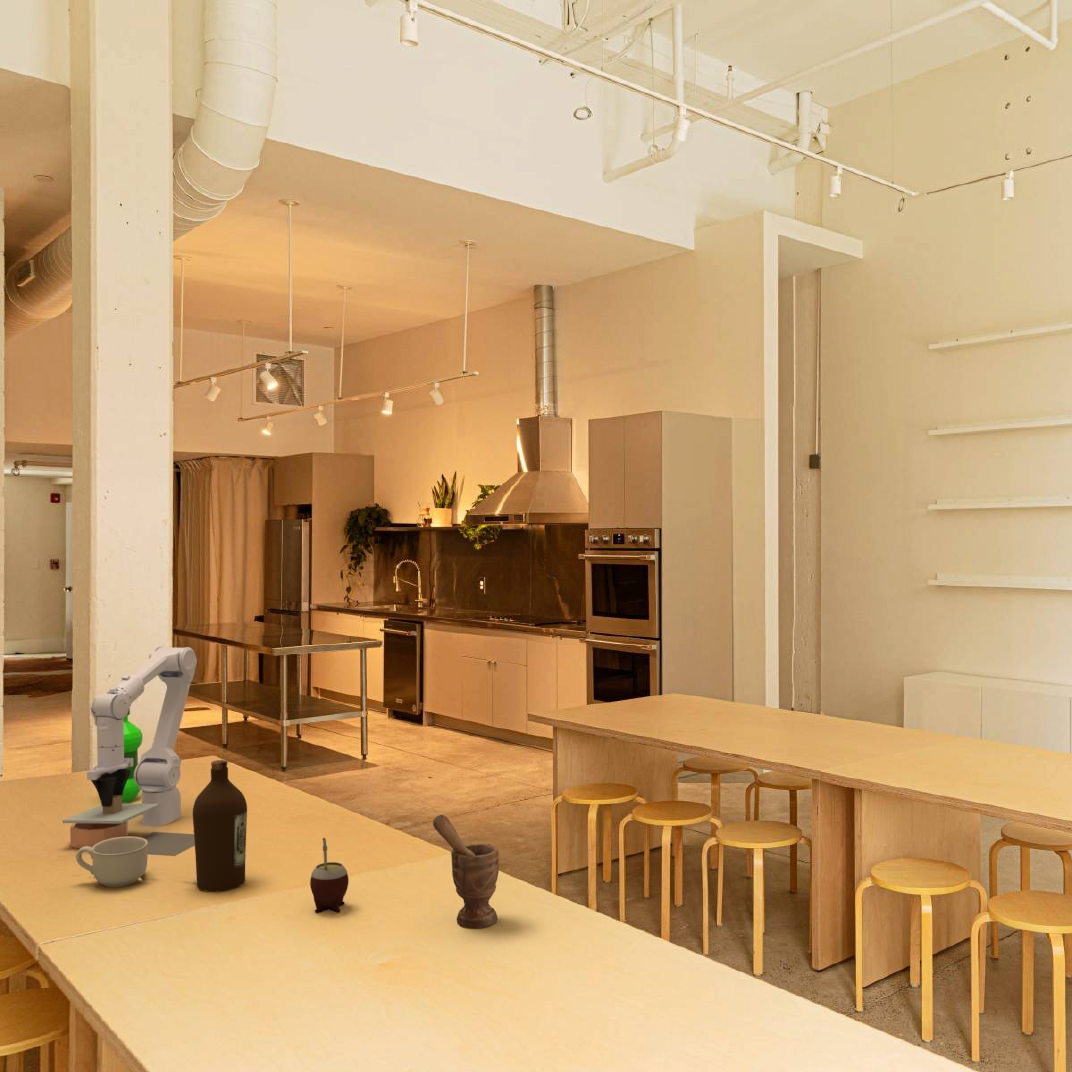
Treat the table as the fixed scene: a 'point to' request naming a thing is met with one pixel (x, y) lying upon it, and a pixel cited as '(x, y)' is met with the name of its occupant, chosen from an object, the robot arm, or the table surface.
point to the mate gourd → (329, 884)
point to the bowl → (95, 833)
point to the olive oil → (220, 832)
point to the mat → (168, 843)
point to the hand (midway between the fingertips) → (111, 804)
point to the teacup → (116, 860)
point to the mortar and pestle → (472, 876)
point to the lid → (112, 812)
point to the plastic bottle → (131, 751)
